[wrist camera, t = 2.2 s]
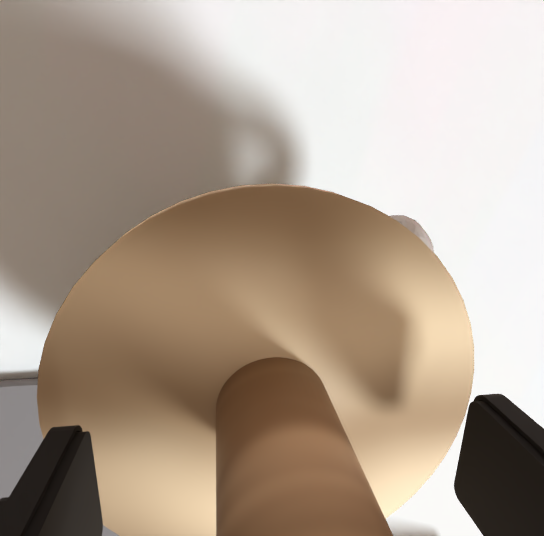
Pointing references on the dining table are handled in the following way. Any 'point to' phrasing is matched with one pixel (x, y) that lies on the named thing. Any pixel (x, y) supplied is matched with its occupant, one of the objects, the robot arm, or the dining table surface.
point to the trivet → (19, 433)
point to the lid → (261, 367)
